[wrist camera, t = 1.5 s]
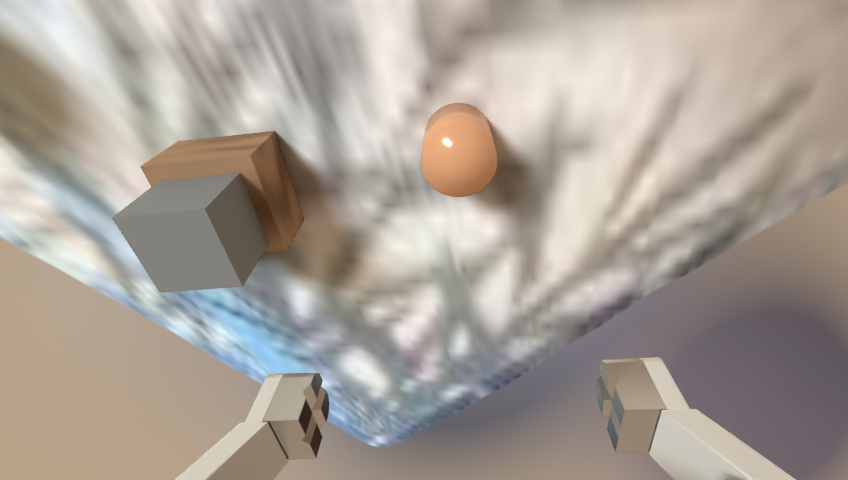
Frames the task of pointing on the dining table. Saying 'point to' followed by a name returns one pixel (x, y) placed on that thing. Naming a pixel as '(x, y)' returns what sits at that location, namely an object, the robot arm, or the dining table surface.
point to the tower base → (258, 170)
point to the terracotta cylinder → (458, 151)
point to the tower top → (195, 232)
